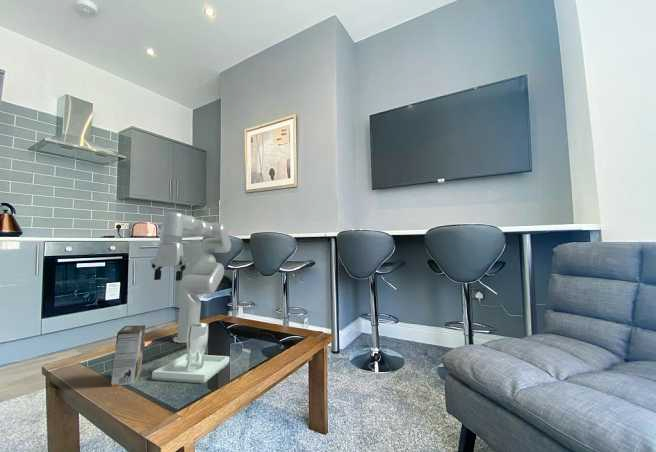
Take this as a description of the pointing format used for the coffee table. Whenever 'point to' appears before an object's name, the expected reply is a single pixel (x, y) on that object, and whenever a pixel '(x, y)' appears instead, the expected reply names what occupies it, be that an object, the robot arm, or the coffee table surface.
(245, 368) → the coffee table surface
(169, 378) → the tray
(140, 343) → the coffee box
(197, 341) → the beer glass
